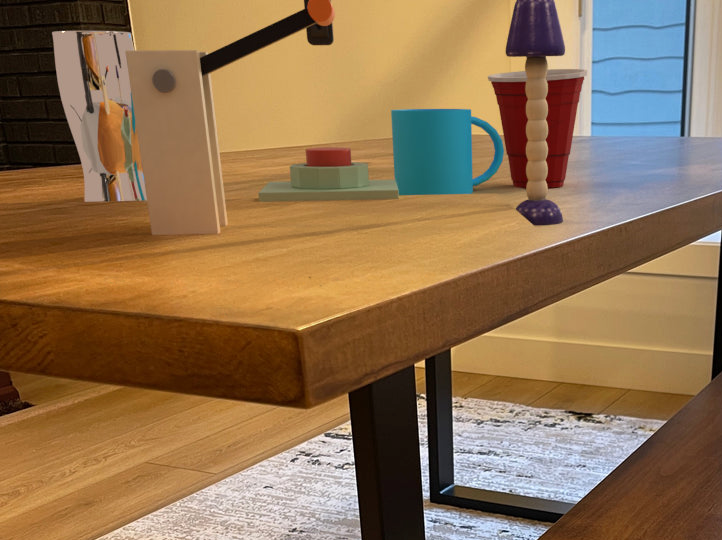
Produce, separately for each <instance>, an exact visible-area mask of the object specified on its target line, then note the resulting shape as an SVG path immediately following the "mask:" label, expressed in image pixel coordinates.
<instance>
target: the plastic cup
mask: <svg viewBox="0 0 722 540" xmlns="http://www.w3.org/2000/svg"><path fill="white" fill-rule="evenodd" d="M587 75H588V69H581V68H557V69H556V68H555V69H553V68H552V69H548V72H547V75H546V77H545V79H546V81H547V84H548V93H547V96H546V101H547V105H548V114H547V117H546V121H547V124H548V135H547V138H546V142H547V146H548V154H547V158H546V160H545V161H546V163H547V167H548V173H547V177H546V180H545V181H546V183H547V187H548V189H550V188H552V189H553V188H561V187H564V183H565V180H566V176H567V170H568V164H569V157H570V155H571V149H572V143H573V138H574V131H575V126H576V125H575V124H576V118H577V112H578V105H579V103H580V98H581V93H582V90H583V89H582V88H583V84H584V80H585V77H587ZM527 79H528V78H527V75H526V72H525V70H522V71H521V70H520V71H519V70H518V71H509V72H499V73H494V74H488V75H487V80H488V82H490V83H491V85H492V88H493V91H494V95H495V97H496V103H497V105H498V111H499V116H500V121H501V122H500V123H501V129H502V134H503V140H504V144H505V145H504V146H505V151H506V155H507V157H508V158H507V160H508V165H509V172H510V179H511V181H512V186H513V187H515V188H523V189H526V187H527V183H528V178H527V175H526V166H527V163H528V158H527V156H526V145H527V142H528V138H527V135H526V125H527V122H528V118H527V115H526V103H527V101H528V98H527V95H526V90H525V88H526V82H527Z"/></svg>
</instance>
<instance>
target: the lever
mask: <svg viewBox="0 0 722 540" xmlns="http://www.w3.org/2000/svg"><path fill="white" fill-rule="evenodd" d="M335 18H336V10H335V8H334V6H333V4H332V1H331V2H330V0H309V2H308V6H307V8H303V9H301V10H299V11H296V12H295V13H292V14H290V15H288V16H286V17H284V18H281V19H280V20H277V21H275V22H272V23H271V24H269V25H267V26H265V27H262V28H260V29H258V30H256V31H254V32H251V33H249V34H248V35H246V36H243V37H242V38H239V39H237V40H235V41H233V42H231V43H228V44H226V45H224V46H223V47H220V48H218V49H216V50H214V51H212V52H210V53H209V52H208V54H207V55H205V56H203V57H201V58H200V65H201V73H202V77H203V76H205V75H207V74H210V75H211V73H214V72H216V71H217V70H220V69H223V68H224V67H227V66H229V65H231V64H233V63H235V62H237V61H240V60H241V59H244V58H245V57H248V56H251V55H252V54H255V53H256V52H259V51H260V50H263V49H265V48H267V47H269V46H271V45H273V44H276V43H278V42H280V41H282V40H284V39H287V38H289V37H290V36H292V35H293V36H294V35H295V34H297V33H299V32H301V31H304V30H306V28H308V27H310V26H312V25H314V24H316V23H317V24H319V25H321V26H327V25H330V24H331V23H333V22H334V21H335Z"/></svg>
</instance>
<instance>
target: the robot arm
mask: <svg viewBox="0 0 722 540" xmlns="http://www.w3.org/2000/svg"><path fill="white" fill-rule="evenodd" d="M308 2H309V0H303V6H304V8H303V9H305V8H307V6H308ZM330 2H331V3H332V0H330ZM305 30H306V40H307V42H308V43H309V45H311V46H331V45H332V44H333V43H334V38H335V37H334V25H333V22H332V23H331V24H330V25H327V26H321V25H319V24H317V23H316V24H314V25H312V26H310V27H308V28H305Z"/></svg>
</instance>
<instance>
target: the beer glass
mask: <svg viewBox="0 0 722 540" xmlns="http://www.w3.org/2000/svg"><path fill="white" fill-rule="evenodd" d="M51 34H52V42H53V53H54V64H55V70H56V79H57V80H56V81H57V85H58V90H59V96H60V100H61V103H62V107H63V110H64V114H65V117H66V120H67V123H68V127H69V129H70V132H71V135H72V138H73V140H74V143H75V147H76V150H77V153H78V156H79V159H80V162H81V167H82V173H83V184H84V185H83V186H84V187H83V196H84V197H83V202H84V203H86V202H87V203H88V202H89V203H91V202H92V203H93V202H95V203H96V202H138V201H139V202H141V201H146V202H147V197H146V190H145V183H144V176H143V169H142V162H141V155H140V149H139V142H138V135H137V128H136V121H135V114H134V107H133V100H132V94H131V87H130V80H129V73H128V66H127V59H126V52H125V51H126V50H135V46H134V43H133V37H132V32H129V31H117V30H116V31H115V30H59V31H57V30H56V31H52V32H51Z"/></svg>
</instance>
